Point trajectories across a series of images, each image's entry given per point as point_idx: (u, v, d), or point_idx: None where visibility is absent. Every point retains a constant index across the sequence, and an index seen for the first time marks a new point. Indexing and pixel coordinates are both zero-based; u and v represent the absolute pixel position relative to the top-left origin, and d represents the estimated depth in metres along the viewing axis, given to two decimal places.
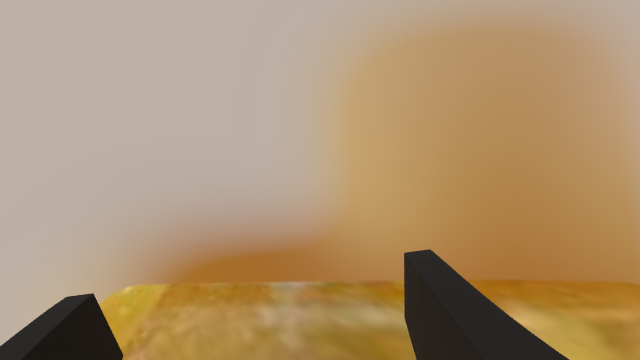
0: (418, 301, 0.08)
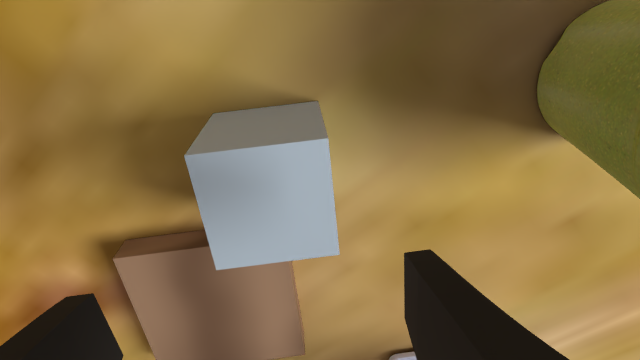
0: (418, 301, 0.08)
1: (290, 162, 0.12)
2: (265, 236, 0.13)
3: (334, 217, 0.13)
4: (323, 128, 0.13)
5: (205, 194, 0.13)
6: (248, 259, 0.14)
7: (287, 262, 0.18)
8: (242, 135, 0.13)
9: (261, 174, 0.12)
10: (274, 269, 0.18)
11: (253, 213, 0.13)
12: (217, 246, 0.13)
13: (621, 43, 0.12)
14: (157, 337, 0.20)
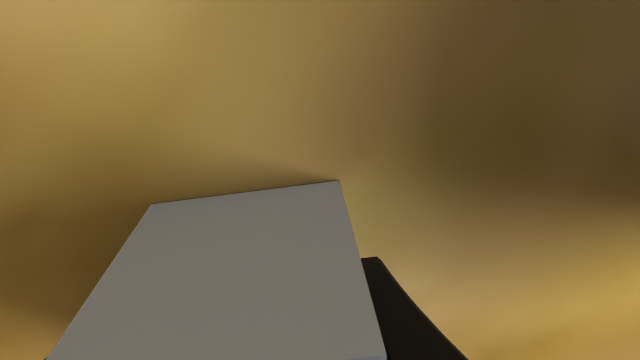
0: None
1: None
2: None
3: None
4: (366, 297, 0.06)
5: None
6: None
7: None
8: (182, 305, 0.06)
9: None
10: None
11: None
12: None
13: None
14: None
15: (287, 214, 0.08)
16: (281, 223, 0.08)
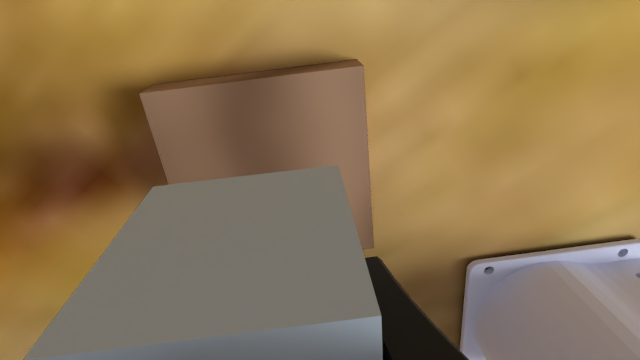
0: None
1: None
2: None
3: None
4: (362, 266, 0.06)
5: None
6: None
7: (364, 107, 0.14)
8: (183, 274, 0.06)
9: None
10: (346, 117, 0.14)
11: None
12: None
13: None
14: None
15: (286, 194, 0.08)
16: (280, 202, 0.08)
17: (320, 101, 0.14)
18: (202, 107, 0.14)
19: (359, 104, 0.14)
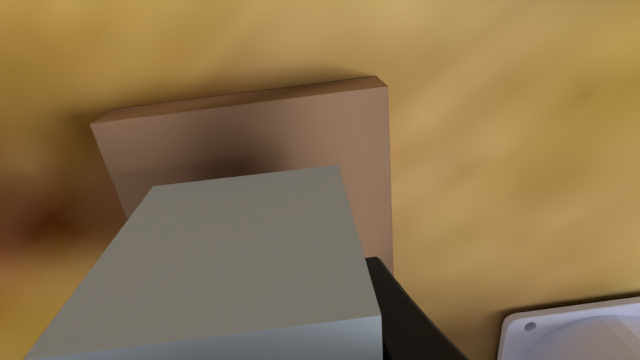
0: None
1: None
2: None
3: None
4: (362, 266, 0.06)
5: None
6: None
7: (387, 139, 0.11)
8: (184, 274, 0.06)
9: None
10: (364, 152, 0.11)
11: None
12: None
13: None
14: None
15: (286, 194, 0.08)
16: (280, 202, 0.08)
17: (329, 132, 0.11)
18: (174, 141, 0.10)
19: (381, 135, 0.11)
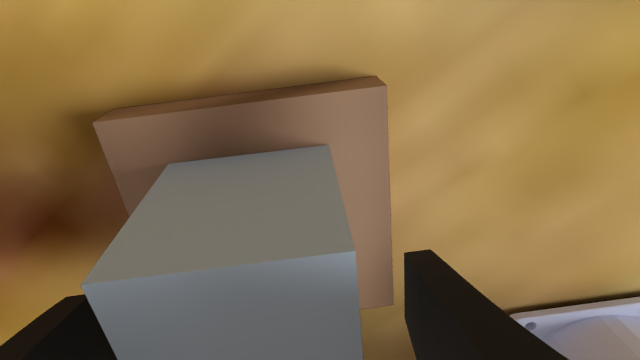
0: (418, 301, 0.08)
1: (283, 290, 0.07)
2: None
3: None
4: (343, 219, 0.07)
5: (129, 344, 0.07)
6: None
7: (386, 138, 0.11)
8: (200, 227, 0.07)
9: (230, 310, 0.07)
10: (363, 150, 0.11)
11: None
12: None
13: None
14: None
15: (284, 168, 0.10)
16: (279, 174, 0.09)
17: (329, 130, 0.11)
18: (176, 139, 0.10)
19: (380, 134, 0.11)
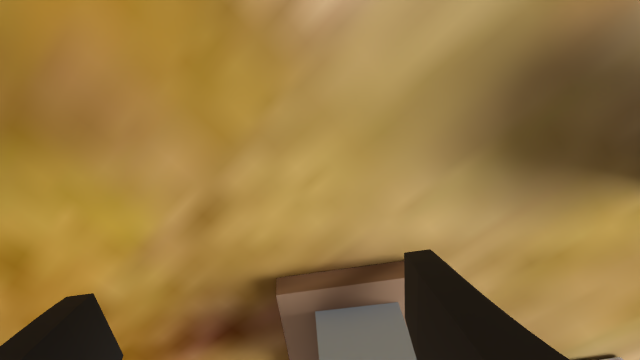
0: (418, 301, 0.08)
1: None
2: None
3: None
4: None
5: None
6: None
7: None
8: None
9: None
10: None
11: None
12: None
13: None
14: None
15: (380, 323, 0.19)
16: (379, 328, 0.19)
17: (394, 294, 0.20)
18: (316, 300, 0.20)
19: None
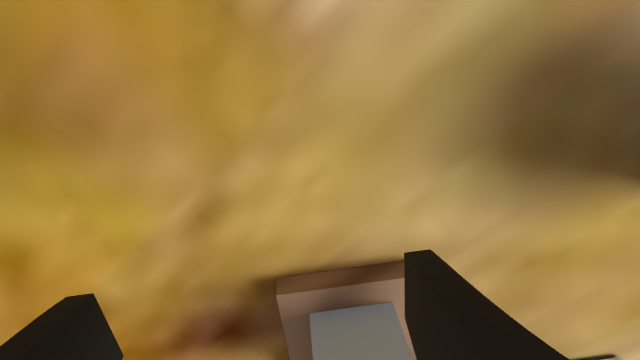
0: (418, 301, 0.08)
1: None
2: None
3: None
4: None
5: None
6: None
7: None
8: None
9: None
10: None
11: None
12: None
13: None
14: None
15: (374, 323, 0.19)
16: (373, 328, 0.19)
17: (394, 294, 0.20)
18: (316, 301, 0.20)
19: None
